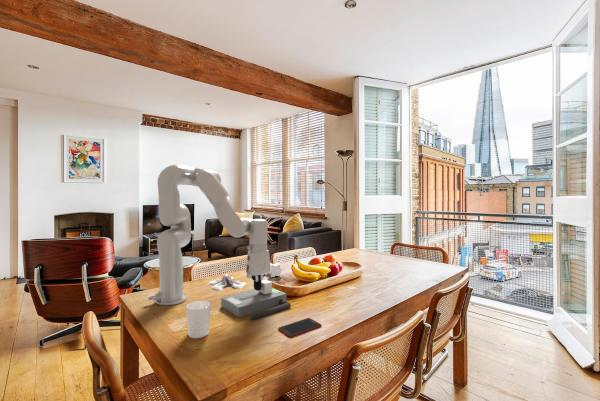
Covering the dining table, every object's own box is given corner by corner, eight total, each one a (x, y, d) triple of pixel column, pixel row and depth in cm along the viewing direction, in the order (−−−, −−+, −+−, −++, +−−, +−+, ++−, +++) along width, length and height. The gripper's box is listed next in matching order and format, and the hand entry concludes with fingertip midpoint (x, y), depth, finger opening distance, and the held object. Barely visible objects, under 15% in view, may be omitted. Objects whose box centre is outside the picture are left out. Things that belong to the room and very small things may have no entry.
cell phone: (277, 330, 106) (277, 327, 106) (309, 319, 115) (309, 317, 115) (289, 339, 100) (289, 336, 100) (322, 327, 109) (322, 324, 109)
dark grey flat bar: (251, 321, 113) (251, 316, 113) (242, 315, 117) (242, 310, 117) (291, 307, 126) (291, 302, 126) (282, 303, 131) (282, 298, 131)
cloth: (250, 288, 151) (250, 276, 151) (213, 294, 142) (213, 281, 142) (238, 277, 171) (238, 266, 171) (204, 281, 162) (204, 270, 162)
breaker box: (238, 317, 116) (238, 307, 115) (221, 306, 126) (221, 297, 126) (286, 302, 132) (286, 293, 132) (267, 293, 142) (267, 285, 142)
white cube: (264, 294, 129) (264, 284, 129) (258, 291, 133) (258, 281, 133) (272, 292, 132) (272, 282, 132) (265, 289, 136) (265, 279, 136)
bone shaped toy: (258, 273, 178) (257, 260, 178) (271, 270, 183) (270, 257, 182) (270, 280, 166) (269, 265, 165) (283, 276, 171) (282, 262, 170)
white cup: (190, 328, 106) (190, 300, 106) (212, 328, 107) (212, 300, 107) (183, 339, 98) (183, 309, 98) (207, 339, 99) (207, 309, 99)
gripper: (248, 251, 121) (247, 295, 122) (277, 247, 131) (276, 288, 132) (238, 248, 127) (237, 290, 127) (267, 244, 137) (266, 284, 137)
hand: (257, 289), depth 130 cm, fingers closed
